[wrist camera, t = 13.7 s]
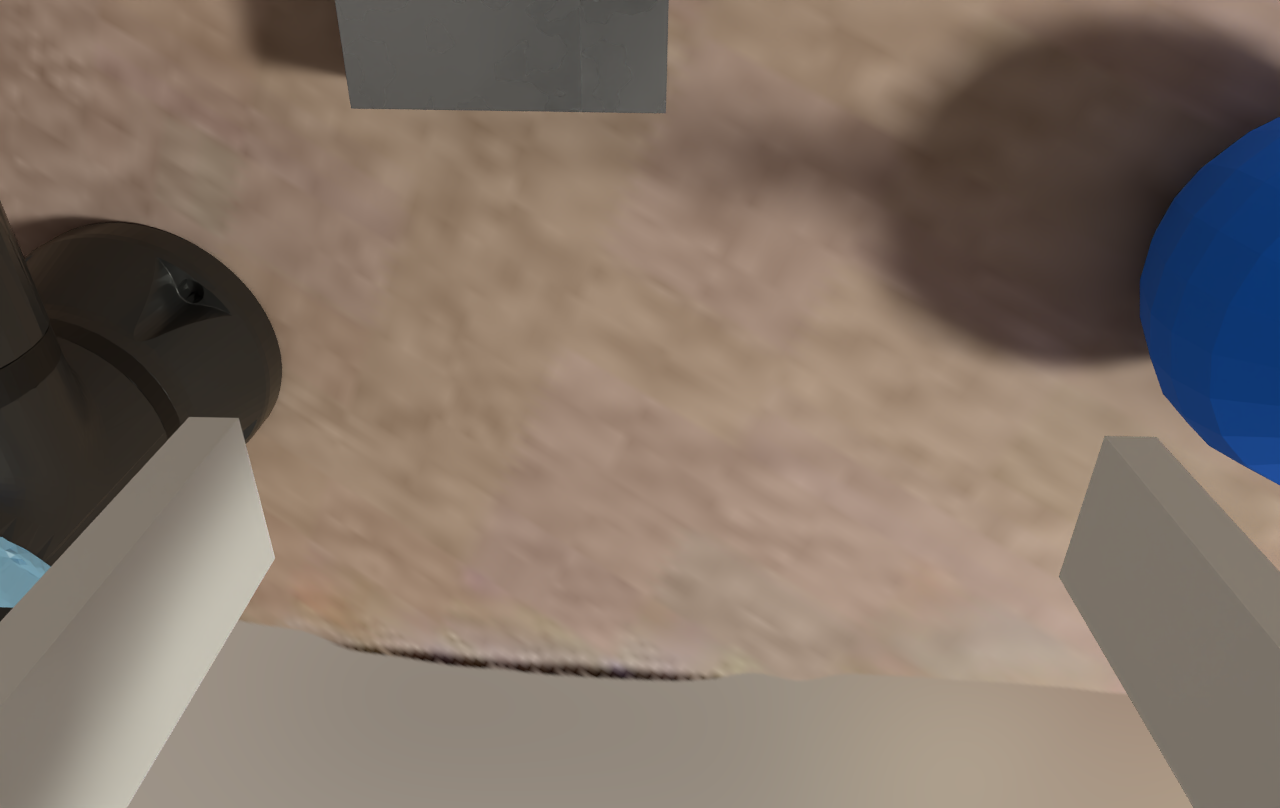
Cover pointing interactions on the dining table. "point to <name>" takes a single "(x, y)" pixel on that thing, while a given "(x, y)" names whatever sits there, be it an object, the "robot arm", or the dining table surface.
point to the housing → (506, 54)
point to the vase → (1222, 301)
